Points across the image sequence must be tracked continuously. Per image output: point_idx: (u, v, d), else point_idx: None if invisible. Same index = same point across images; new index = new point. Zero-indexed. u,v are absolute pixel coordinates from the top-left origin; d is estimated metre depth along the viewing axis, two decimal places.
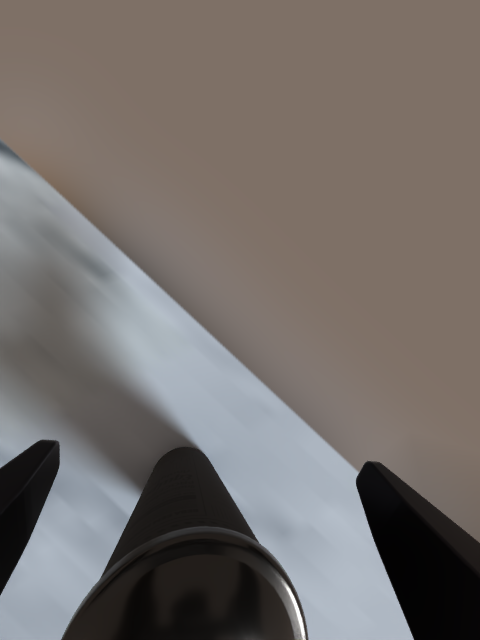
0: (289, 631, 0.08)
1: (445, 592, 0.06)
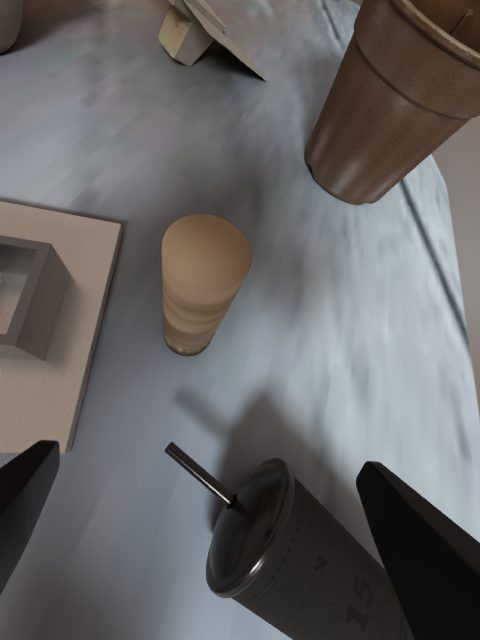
0: (271, 509, 0.14)
1: (445, 592, 0.06)
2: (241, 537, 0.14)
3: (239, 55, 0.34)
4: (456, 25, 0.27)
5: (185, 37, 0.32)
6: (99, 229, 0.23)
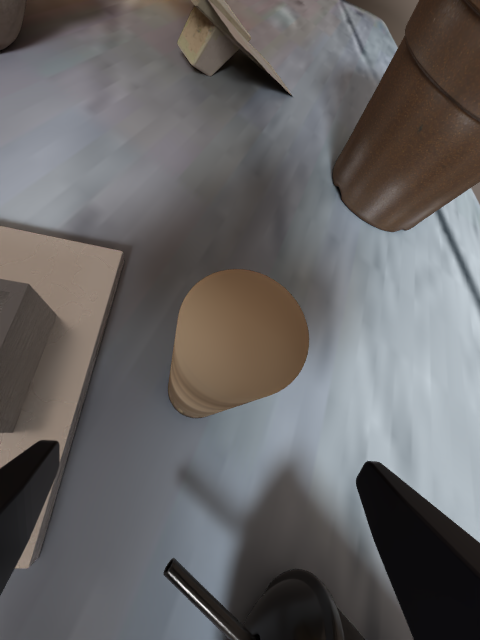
0: None
1: (445, 592, 0.06)
2: None
3: (265, 66, 0.31)
4: None
5: (208, 43, 0.29)
6: (96, 257, 0.19)
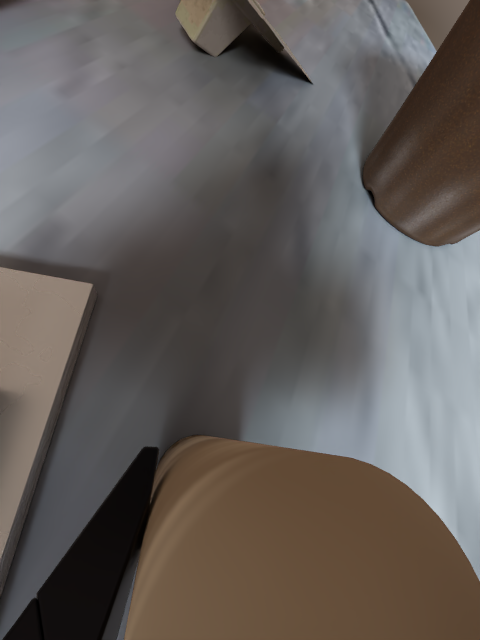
0: None
1: None
2: None
3: (283, 44, 0.25)
4: None
5: (212, 13, 0.23)
6: (54, 294, 0.13)
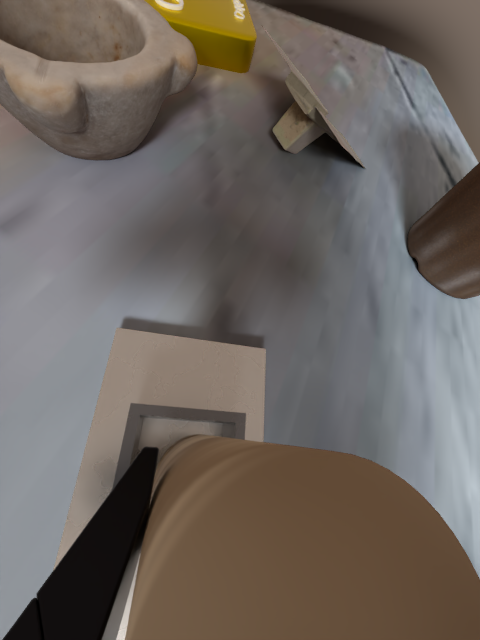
0: None
1: None
2: None
3: (350, 150, 0.34)
4: None
5: (303, 134, 0.32)
6: (248, 357, 0.22)
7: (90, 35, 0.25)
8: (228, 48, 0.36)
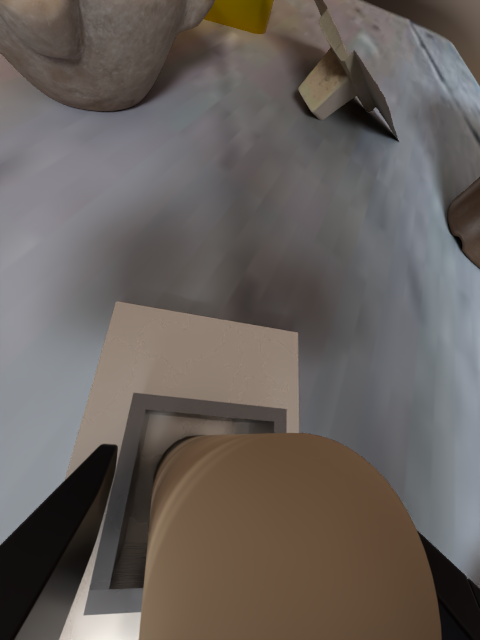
0: None
1: None
2: None
3: (386, 115, 0.30)
4: None
5: (334, 92, 0.28)
6: (277, 342, 0.18)
7: None
8: (244, 2, 0.32)
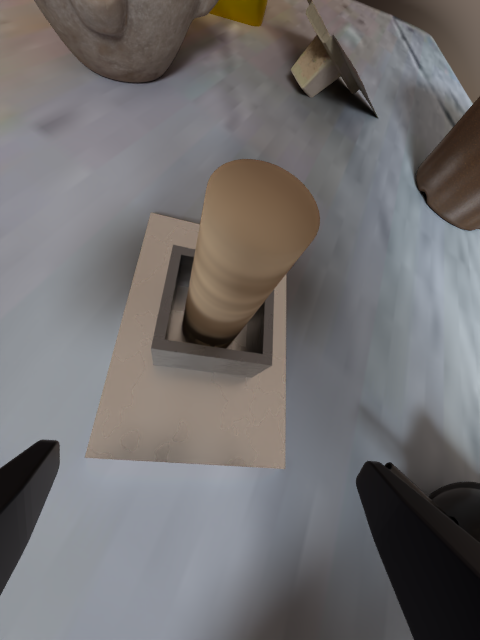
0: None
1: (445, 592, 0.06)
2: None
3: (364, 92, 0.35)
4: None
5: (320, 71, 0.34)
6: None
7: None
8: None
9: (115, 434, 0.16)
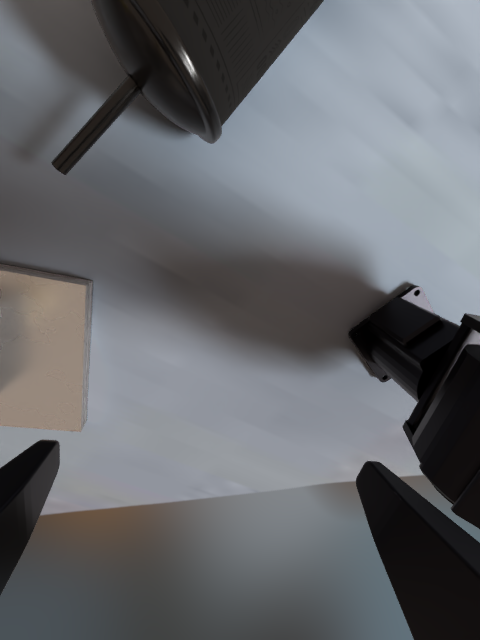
0: None
1: (445, 592, 0.06)
2: (151, 67, 0.10)
3: None
4: None
5: None
6: None
7: None
8: None
9: (62, 417, 0.20)
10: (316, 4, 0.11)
